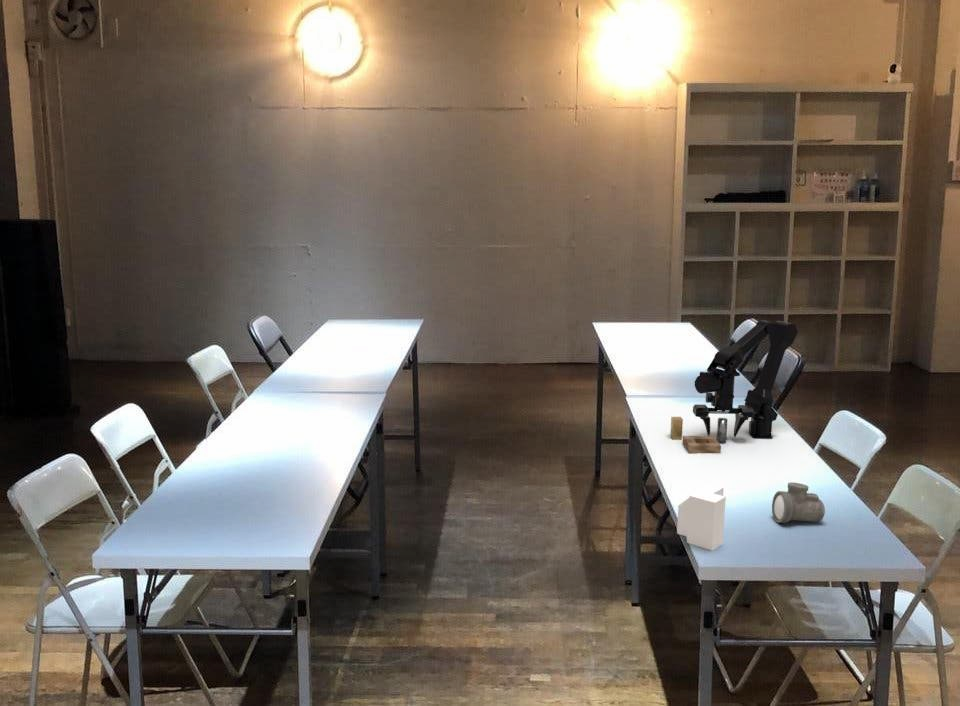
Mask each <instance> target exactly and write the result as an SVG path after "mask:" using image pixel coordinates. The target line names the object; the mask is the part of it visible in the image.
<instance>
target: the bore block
mask: <svg viewBox="0 0 960 706" xmlns="http://www.w3.org/2000/svg"><path fill="white" fill-rule="evenodd" d="M682 445H683V447H684V448H685V450H686V452H687V453H688V454H697V453H722V444H719V443H718V441H717V438H716V437H715V436H711V435H710V436H708V435H707V436H706V435H705V436H703V435H702V436H699V435H698V436H697V435H696V436H695V435H693V436H690V435H689V436H688V435H682Z"/></svg>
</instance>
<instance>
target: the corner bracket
mask: <svg viewBox="0 0 960 706" xmlns="http://www.w3.org/2000/svg"><path fill="white" fill-rule="evenodd" d="M726 500H727V497H726V496H724V487H722V486H719V485H714V484H709V485H707V486H705V487H703V488H702V489H700V490H698V491H696V492H694V493H692V494H690V495H689V497H688V498H687V499H685V500H684V501H683V502H681V503H679V505H677V506H678V508H677V510H678V511H677V512H678V513H677V524H676V526H677V527H676V534H677V535H681V536H683V537H687V538H686V543H687V544H689V545H693V546H696V547H701V548H703V549H705V550H710V551H714V550H715V549H717V548H718V547H720V546H721V545H723V544H724V529H725V528H724V527H725V513H726Z"/></svg>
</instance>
